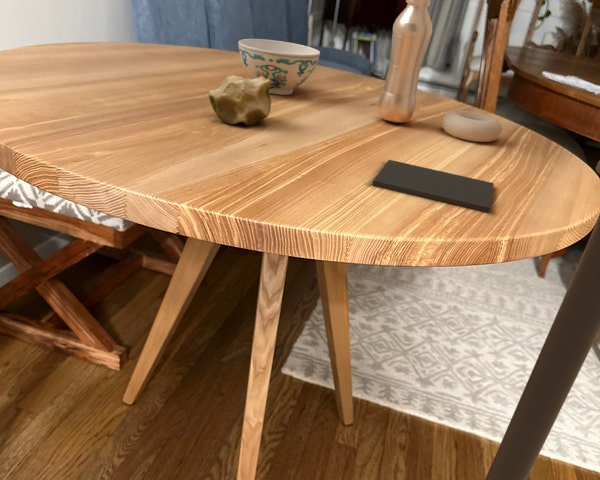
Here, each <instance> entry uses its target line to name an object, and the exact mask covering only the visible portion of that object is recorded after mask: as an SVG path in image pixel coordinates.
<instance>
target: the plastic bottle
mask: <svg viewBox="0 0 600 480" xmlns="http://www.w3.org/2000/svg"><path fill="white" fill-rule="evenodd" d="M405 2H406V3H407V4H406V7H405V8H403V10H402V11H401V12H400V14H399V15H398V16H397V17H396V19H395V21H394V23H393V25H392V33H391V48H390V56H389V63H388V69H387V73H386V77H385V79H384V84H383V88H382V90H381V93H380V96H379V98H378V102H377V113H378V116H379V118H381V119H383V120H385V121H388V122H391V123H395V124H396V123H407V122H410V120H411V119H412V118H413V116H414V114H415V111H416V107H417V92H418V91H417V90H418V85H419V79H420V78H419V77H420V73H421V67H422V65H423V62H424V58H425V54H426V52H427V49H428V46H429V43H430V40H431V37H432V35H433V23H432V19H431V17H430V13H429V11H428V8H429V7H430V6H431V0H405Z"/></svg>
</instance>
